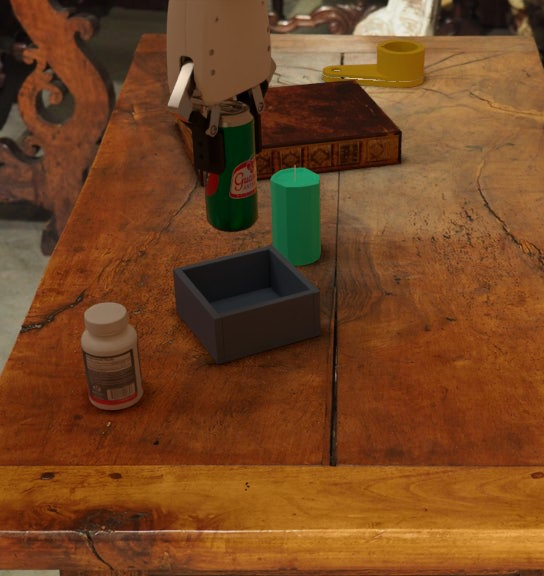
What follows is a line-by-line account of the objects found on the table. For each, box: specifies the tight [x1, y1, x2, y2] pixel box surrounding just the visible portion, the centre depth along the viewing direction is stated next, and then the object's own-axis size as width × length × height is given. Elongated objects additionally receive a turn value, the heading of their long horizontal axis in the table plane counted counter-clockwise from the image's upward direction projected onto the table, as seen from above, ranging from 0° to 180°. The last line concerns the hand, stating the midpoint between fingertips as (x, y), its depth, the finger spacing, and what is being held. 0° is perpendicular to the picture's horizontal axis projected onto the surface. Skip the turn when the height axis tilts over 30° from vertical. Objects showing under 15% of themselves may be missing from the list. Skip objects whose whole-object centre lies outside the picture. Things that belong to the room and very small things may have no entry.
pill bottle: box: [80, 302, 144, 411], centre depth 104 cm, size 5×5×10 cm
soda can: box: [202, 100, 259, 233], centre depth 103 cm, size 5×5×12 cm
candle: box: [269, 165, 322, 267], centre depth 130 cm, size 6×6×12 cm
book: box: [174, 80, 403, 187], centre depth 163 cm, size 30×24×5 cm
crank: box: [322, 39, 426, 89], centre depth 190 cm, size 18×8×6 cm, turn 91°
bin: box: [172, 244, 322, 365], centre depth 118 cm, size 12×12×6 cm
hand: (228, 158), depth 102 cm, fingers closed on soda can, 5 cm apart
